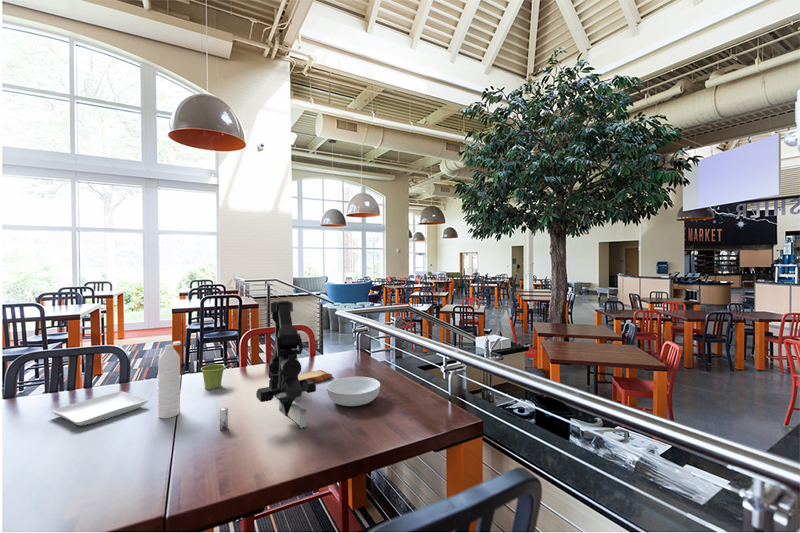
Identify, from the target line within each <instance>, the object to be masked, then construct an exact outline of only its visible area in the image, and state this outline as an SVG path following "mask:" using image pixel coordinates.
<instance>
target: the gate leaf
mask: <svg viewBox="0 0 800 533" xmlns="http://www.w3.org/2000/svg"><path fill="white" fill-rule="evenodd" d="M282 412H283V413H284V410H283V411H282ZM287 417H289V418H290V419H291V420H292V419H293V420H292V421H294V422H295V424H297V425H298V426H299V425H300V426H299V428H301V429H303V427H304V428H306V427H307V410H306V409H305V408H303V407H302V406H301V405H299V404H298V403H297V402H296V401H295V400H294V401H293V403H292V405H291V408H290V410H289V413H288V415H287Z"/></svg>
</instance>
